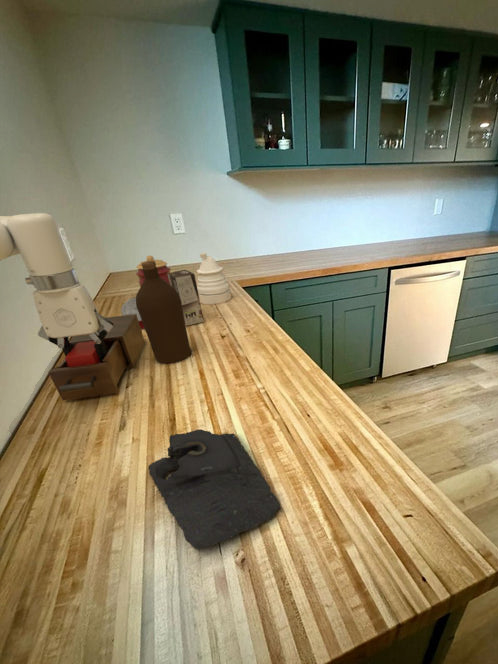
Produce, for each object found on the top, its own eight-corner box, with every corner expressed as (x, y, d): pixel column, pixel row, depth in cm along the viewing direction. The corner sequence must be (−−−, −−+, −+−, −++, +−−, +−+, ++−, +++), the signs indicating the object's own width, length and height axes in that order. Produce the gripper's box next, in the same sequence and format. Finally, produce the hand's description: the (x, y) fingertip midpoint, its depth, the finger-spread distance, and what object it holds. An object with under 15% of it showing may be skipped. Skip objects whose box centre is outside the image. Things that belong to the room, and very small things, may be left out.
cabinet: (133, 368, 88) (122, 336, 83) (81, 375, 86) (67, 343, 81) (145, 342, 102) (136, 313, 97) (100, 348, 100) (89, 319, 95)
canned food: (157, 331, 121) (165, 307, 117) (143, 340, 112) (150, 314, 108) (128, 317, 120) (134, 292, 116) (110, 325, 111) (116, 298, 107)
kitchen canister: (173, 293, 146) (162, 251, 137) (181, 300, 136) (170, 255, 128) (142, 299, 141) (128, 255, 132) (147, 307, 131) (134, 260, 122)
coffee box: (205, 321, 114) (195, 273, 106) (186, 326, 111) (174, 277, 103) (196, 314, 121) (185, 268, 113) (178, 318, 118) (166, 272, 110)
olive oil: (171, 368, 86) (143, 269, 74) (144, 359, 91) (114, 265, 79) (201, 351, 94) (180, 259, 81) (175, 344, 99) (152, 256, 86)
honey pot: (215, 305, 128) (206, 257, 119) (192, 301, 134) (181, 254, 125) (237, 296, 138) (230, 250, 128) (215, 292, 144) (206, 248, 135)
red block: (97, 367, 75) (92, 354, 73) (70, 370, 74) (64, 357, 72) (107, 351, 81) (102, 339, 80) (82, 354, 80) (77, 342, 79)
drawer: (112, 402, 72) (100, 373, 69) (55, 411, 71) (39, 381, 67) (132, 361, 89) (123, 336, 85) (85, 367, 87) (74, 342, 83)
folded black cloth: (180, 575, 40) (170, 552, 38) (147, 464, 57) (139, 442, 54) (290, 514, 47) (287, 491, 44) (232, 430, 63) (228, 410, 61)
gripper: (-1, 290, 64) (41, 373, 73) (95, 280, 66) (124, 361, 75) (19, 280, 70) (55, 357, 79) (106, 272, 73) (132, 347, 82)
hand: (89, 358), depth 77 cm, fingers closed on red block, 5 cm apart
